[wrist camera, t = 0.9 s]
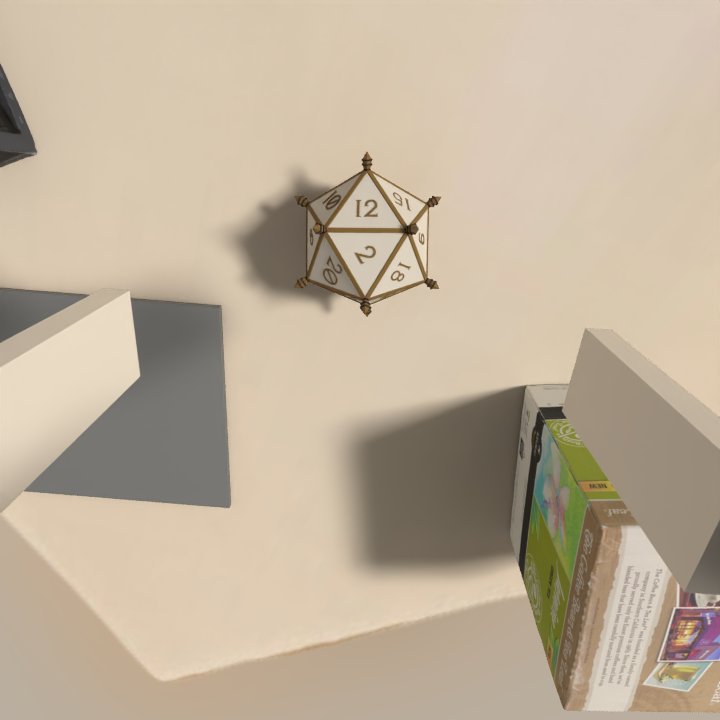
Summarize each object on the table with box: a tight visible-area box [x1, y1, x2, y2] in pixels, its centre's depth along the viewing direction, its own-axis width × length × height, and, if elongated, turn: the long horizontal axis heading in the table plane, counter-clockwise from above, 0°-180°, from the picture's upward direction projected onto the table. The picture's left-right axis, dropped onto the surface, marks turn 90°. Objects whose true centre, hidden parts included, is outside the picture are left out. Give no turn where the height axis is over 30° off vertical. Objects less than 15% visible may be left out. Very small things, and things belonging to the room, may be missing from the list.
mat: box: [0, 288, 231, 508], centre depth 38 cm, size 18×18×1 cm
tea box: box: [510, 384, 720, 713], centre depth 32 cm, size 15×10×15 cm
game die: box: [295, 152, 441, 316], centre depth 28 cm, size 9×8×10 cm
